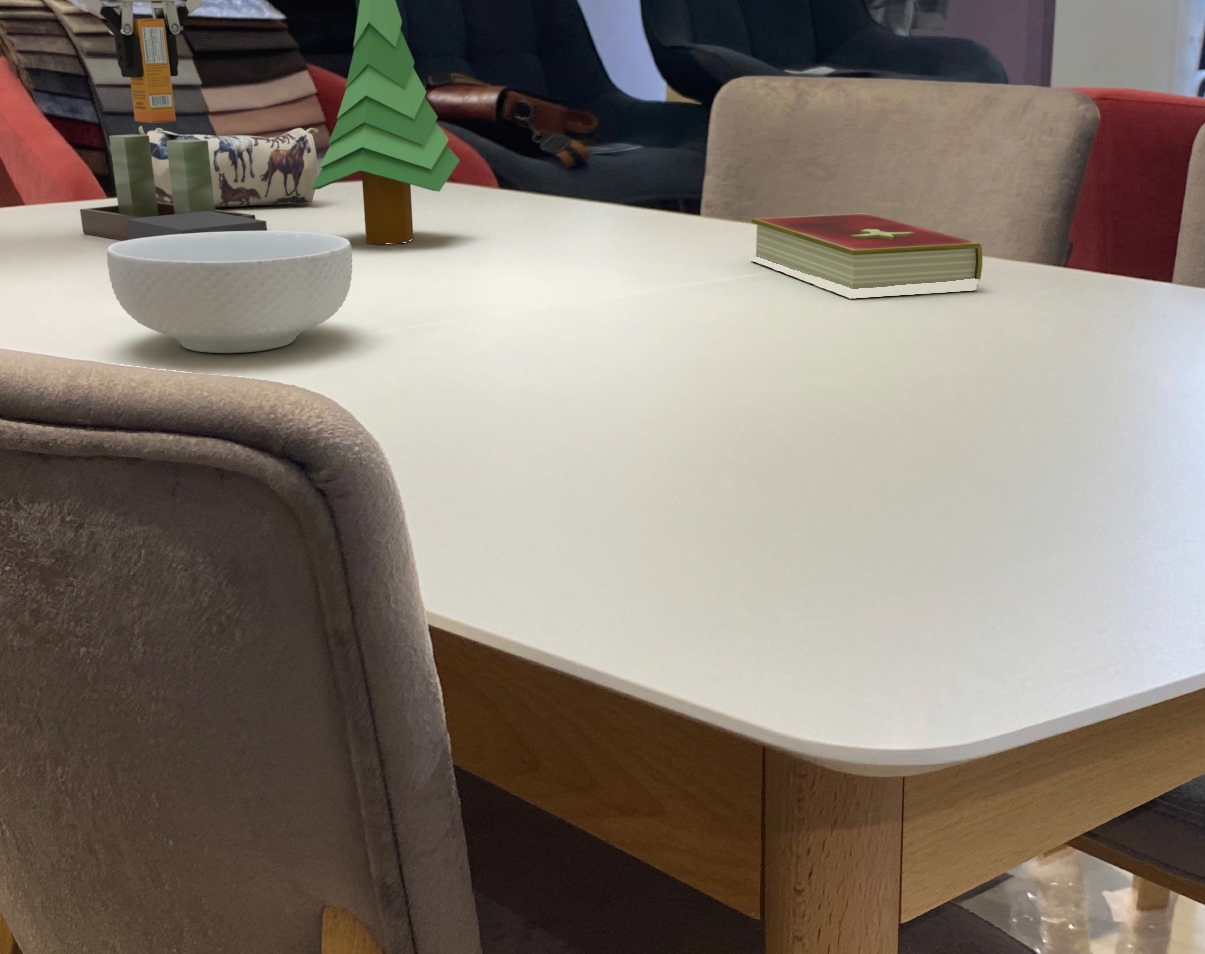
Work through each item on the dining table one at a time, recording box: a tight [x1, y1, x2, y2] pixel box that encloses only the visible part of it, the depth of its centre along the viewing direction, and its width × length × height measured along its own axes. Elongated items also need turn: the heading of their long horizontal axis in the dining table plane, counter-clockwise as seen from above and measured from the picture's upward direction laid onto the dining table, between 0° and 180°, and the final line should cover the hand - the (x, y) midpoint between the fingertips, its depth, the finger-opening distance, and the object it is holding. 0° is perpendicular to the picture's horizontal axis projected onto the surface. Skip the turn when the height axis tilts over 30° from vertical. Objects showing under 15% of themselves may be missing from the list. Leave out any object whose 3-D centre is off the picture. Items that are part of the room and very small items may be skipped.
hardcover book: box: [751, 212, 983, 289], centre depth 128 cm, size 12×21×4 cm, turn 17°
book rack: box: [79, 133, 256, 241], centre depth 153 cm, size 9×19×10 cm, turn 48°
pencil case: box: [138, 125, 319, 209], centre depth 177 cm, size 22×8×10 cm, turn 106°
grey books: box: [127, 211, 268, 240], centre depth 127 cm, size 10×11×5 cm
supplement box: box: [129, 17, 177, 124], centre depth 148 cm, size 3×3×10 cm
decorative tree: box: [310, 0, 461, 245], centre depth 145 cm, size 14×16×30 cm
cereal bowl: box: [106, 230, 353, 354], centre depth 102 cm, size 17×17×7 cm
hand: (149, 74), depth 149 cm, fingers closed on supplement box, 3 cm apart
